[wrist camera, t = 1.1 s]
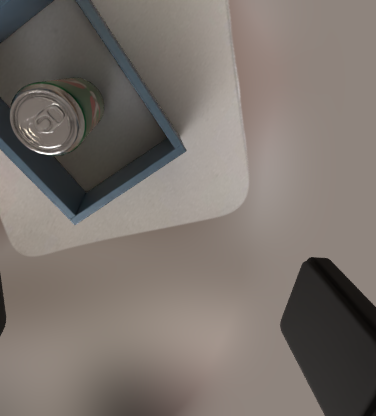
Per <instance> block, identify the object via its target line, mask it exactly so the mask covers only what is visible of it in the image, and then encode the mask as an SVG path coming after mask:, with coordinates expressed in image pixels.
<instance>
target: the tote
mask: <svg viewBox="0 0 376 416" xmlns="http://www.w3.org/2000/svg"><path fill="white" fill-rule="evenodd" d="M52 1H53V0H0V43H1V42H2V41H3V40H5V39H6V38H7V37H8V36H10V35H11V34H12V33H13V32H15V31H16V30H17V29H18V28H20V27H21V26H22V25H23V24H25V23H26V22H27V21H28V20H30V19H31V18H32V17H33V16H35V15H36V14H37V13H38V12H40V11H41V10H42V9H43V8H45V7H46V6H47V5H48V4H50V3H51V2H52ZM76 2H77V3H78V5H79V6H80V8H81V9H82V11H83V12H84V14H85V15H86V17H87V18H88V20H89V21H90V23H91V24H92V26H93V27H94V29H95V30H96V32H97V33H98V35H99V36H100V38H101V39H102V41H103V42H104V43H105V45H106V46H107V48H108V49H109V51H110V52H111V54H112V55H113V57H114V58H115V60H116V61H117V63H118V64H119V66H120V67H121V69H122V70H123V72H124V73H125V75H126V76H127V78H128V79H129V81H130V82H131V84H132V85H133V87H134V88H135V90H136V91H137V93H138V94H139V96H140V97H141V99H142V100H143V102H144V103H145V105H146V106H147V108H148V109H149V111H150V112H151V113H152V115H153V116H154V118H155V119H156V121H157V122H158V124H159V125H160V127H161V128H162V130H163V131H164V133H165V134H166V136H167V137H168V138H167V139H165V140H164V141H162V142H161V143H159V144H158V145H156V146H155V147H153V148H152V149H150V150H149V151H147V152H146V153H145V154H143V155H142V156H140V157H139V158H137V159H136V160H134V161H133V162H131V163H130V164H128V165H127V166H125V167H124V168H122V169H121V170H119V171H118V172H117V173H115V174H114V175H112V176H111V177H109V178H108V179H106V180H105V181H103V182H102V183H100V184H99V185H97V186H96V187H94V188H93V189H91V190H90V191H89V192H87V193H86V192H85V191H84V190H83V189H82V188H81V187H80V186H79V184H78V183H77V182H76V181H75V180H74V179H73V178H72V177H71V176H70V174H69V173H68V172H67V171H66V170H65V169H64V168H63V167H62V166H61V164H60V163H59V162H58V161H57V160H56V159H55V158H54V157H53V156H50V155H45V154H41V153H38V152H35V151H33V150H31V149H29V148H28V147H26V146H25V145H24V144H23V143H22V142H21V141H20V140H19V139H18V138H17V136H16V135H15V133H14V131H13V129H12V126H11V122H10V108H9V107H8V106H7V104H6V103H5V102H4V101H3V100H2V99H1V98H0V149H1V150H2V151H3V152H4V154H5V155H6V156H7V157H8V158H9V159H10V160H11V161H12V162H13V163H14V164H15V165H16V166H17V167H18V168H19V169H20V170H21V171H22V172H23V173H24V174H25V175H26V176H27V177H28V178H29V179H30V180H31V181H32V182H33V183H34V184H35V185H36V186H37V187H38V188H39V189H40V190H41V191H42V192H43V193H44V194H45V195H46V196H47V197H48V198H49V199H50V200H51V201H52V202H53V203H54V204H55V205H56V206H57V207H58V208H59V209H60V210H61V211H62V213H63V214H64V215H65V216H66V217H67V218H68V219H70V221H71V222H72V223H73V224H74V225H76V224H77V223H79V222H80V221H82V220H83V219H85V218H86V217H88V216H89V215H91V214H92V213H94V212H95V211H97V210H98V209H100V208H101V207H103V206H104V205H106V204H107V203H109V202H110V201H112V200H113V199H115V198H116V197H118V196H119V195H121V194H122V193H124V192H125V191H127V190H128V189H130V188H132V187H133V186H135V185H136V184H138V183H139V182H141V181H142V180H144V179H145V178H147V177H148V176H150V175H151V174H153V173H154V172H156V171H157V170H159V169H160V168H162V167H163V166H165V165H166V164H168V163H169V162H171V161H172V160H174V159H175V158H177V157H178V156H180V155H181V154H183V153H184V152H186V149H185V147H184V145H183V143H182V141H181V139H180V137H179V135H178V134H177V132H176V131H175V129H174V128H173V126H172V125H171V123H170V121H169V120H168V118H167V117H166V115H165V114H164V112H163V111H162V109H161V108H160V106H159V105H158V103H157V101H156V100H155V98H154V97H153V95H152V94H151V92H150V91H149V89H148V88H147V86H146V85H145V83H144V81H143V80H142V78H141V77H140V75H139V74H138V72H137V71H136V69H135V68H134V66H133V65H132V63H131V61H130V60H129V58H128V57H127V55H126V54H125V52H124V51H123V49H122V48H121V46H120V45H119V43H118V41H117V40H116V38H115V37H114V35H113V34H112V32H111V31H110V29H109V28H108V26H107V25H106V23H105V21H104V20H103V18H102V17H101V15H100V14H99V12H98V11H97V9H96V8H95V6H94V5H93V3H92V1H91V0H76Z"/></svg>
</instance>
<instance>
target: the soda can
mask: <svg viewBox="0 0 376 416" xmlns="http://www.w3.org/2000/svg"><path fill="white" fill-rule="evenodd" d="M103 113H104V102H103V98H102V96H101V94H100V92H99V91H98V89H97V88H96V87H95V86H94V85H93V84H92V83H90V82H89V81H87V80H84V79H81V78H66V79H59V80H51V81H44V82H37V83H32V84H29V85H27V86H25V87H23V88H22V89H21V90H19V91H18V93H17V94H16V95H15V97H14V98H13V100H12V103H11V108H10V122H11V126H12V129H13V131H14V133H15V135H16V136H17V138H18V139H19V140H20V141H21V142H22V143H23V144H24V145H25V146H26V147H28V148H29V149H31V150H33V151H35V152H38V153H41V154H45V155H50V156H59V155H64V154H67V153H69V152H72V151H73V150H74V149H76V148H77V147H78V146H79V145H80V144H81V143H82V141H83V140H84V139H85V138H86V137H87V135H88V134H89V133H90V132H91V131H92V130H93V128H94V127H95V126H96V125H97V124H98V123H99V121H100V120H101V118H102V116H103Z"/></svg>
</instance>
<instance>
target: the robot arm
mask: <svg viewBox="0 0 376 416" xmlns="http://www.w3.org/2000/svg"><path fill="white" fill-rule="evenodd" d="M5 323H6V312H5V305H4V297H3V290H2V283H1V276H0V335H1V334H2V332H3V329H4V327H5ZM280 326H281V331H282V333H283V335H284V337H285V339H286V341H287V343H288V345H289V347H290V349H291V351H292V353H293V355H294V357H295V358H296V361H297V362H298V364H299V366H300V368H301V370H302V372H303V374H304V376H305V378H306V380H307V382H308V384H309V386H310V388H311V389H312V391H313V393H314V395H315V397H316V399H317V401H318V403H319V405H320V407H321V409H322V411H323V413H324V415H325V416H376V307H375V306H374V305H373V304H372V303H371V302H370V301H369V300H368V299H367V298H366V297H365V296H364V295H363V294H362V292H361V291H360V290H359V289H357V287H356V286H355V285H354V284H353V283H352V282H351V281H350V280H349V279H348V278H347V277H346V276H345V275H344V274H343V273H342V272H341V271H340V270H339V269H338V268H337V267H336V266H335V264H333V263H332V261H331V260H329V259H328V258H314V257H311V258H309V259H308V260H307V261H305V262H304V263H303V264H302V266H301V268H300V271H299V274H298V276H297V279H296V282H295V284H294V287H293V290H292V292H291V295H290V298H289V300H288V303H287V306H286V308H285V311H284V314H283V316H282V319H281V324H280Z"/></svg>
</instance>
